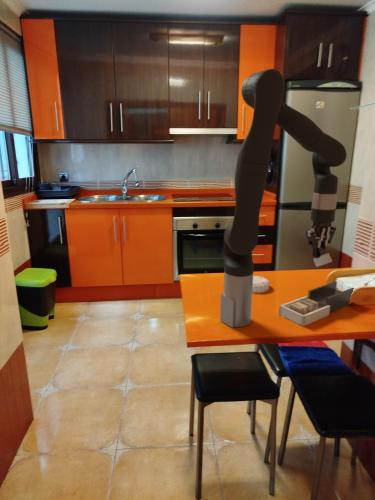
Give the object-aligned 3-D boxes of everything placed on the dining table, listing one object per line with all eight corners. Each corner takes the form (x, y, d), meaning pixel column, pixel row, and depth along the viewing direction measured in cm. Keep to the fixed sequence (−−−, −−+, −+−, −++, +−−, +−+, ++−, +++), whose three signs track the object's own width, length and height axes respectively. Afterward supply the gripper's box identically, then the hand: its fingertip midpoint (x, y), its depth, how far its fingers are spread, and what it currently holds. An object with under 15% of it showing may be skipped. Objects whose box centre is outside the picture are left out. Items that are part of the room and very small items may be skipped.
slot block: (326, 314, 120) (328, 298, 118) (306, 305, 126) (308, 290, 124) (352, 303, 128) (355, 288, 127) (332, 295, 135) (334, 281, 133)
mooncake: (274, 287, 144) (274, 279, 143) (258, 295, 135) (258, 287, 134) (250, 280, 152) (250, 272, 151) (233, 287, 143) (233, 279, 142)
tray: (302, 326, 111) (303, 316, 110) (278, 314, 119) (279, 305, 118) (329, 315, 119) (330, 306, 118) (304, 304, 127) (305, 296, 126)
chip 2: (309, 316, 117) (311, 305, 116) (300, 311, 120) (301, 301, 119) (317, 313, 119) (318, 302, 118) (307, 309, 122) (308, 298, 121)
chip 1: (306, 316, 117) (299, 320, 114) (297, 312, 120) (289, 315, 118) (308, 306, 116) (300, 309, 113) (298, 301, 119) (290, 304, 116)
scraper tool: (327, 262, 115) (317, 237, 117) (316, 267, 119) (306, 242, 121) (332, 261, 116) (322, 236, 118) (320, 265, 120) (311, 241, 122)
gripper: (320, 210, 107) (314, 263, 112) (346, 206, 115) (340, 256, 120) (300, 207, 114) (296, 257, 118) (326, 203, 121) (321, 251, 126)
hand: (318, 256), depth 119 cm, fingers closed on scraper tool, 2 cm apart
